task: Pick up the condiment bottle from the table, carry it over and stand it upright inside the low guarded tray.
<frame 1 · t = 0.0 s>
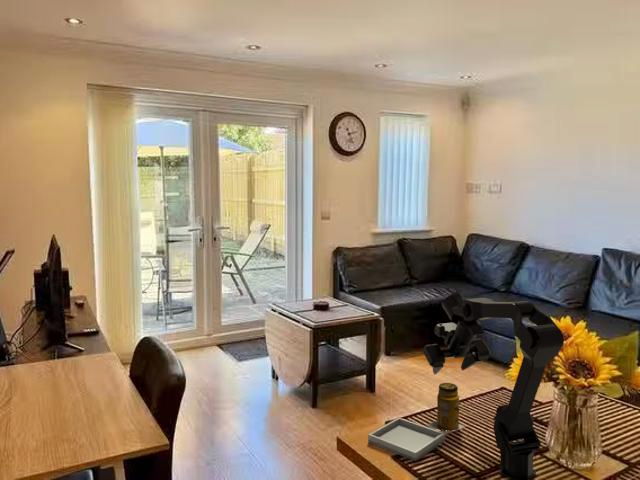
hand: (448, 371, 156), 15 cm above the table, tool tilted 35°, fingers open, 9 cm apart
condiment: (445, 427, 154), on the table
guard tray: (406, 441, 145), on the table
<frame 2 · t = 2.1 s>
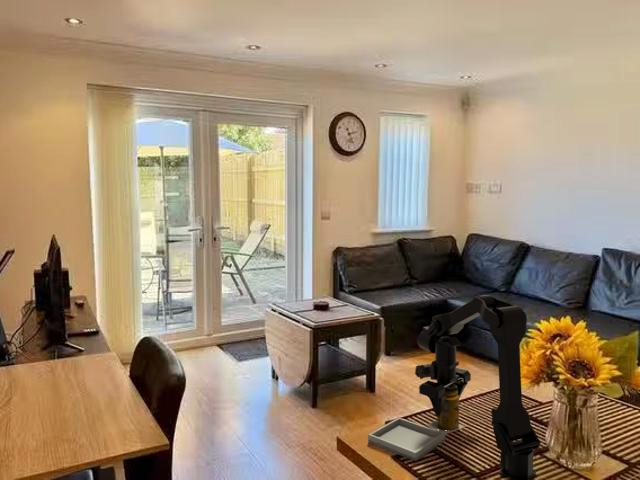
hand: (445, 411, 154), 5 cm above the table, tool pointing down, fingers open, 8 cm apart
condiment: (445, 427, 154), on the table, touching gripper
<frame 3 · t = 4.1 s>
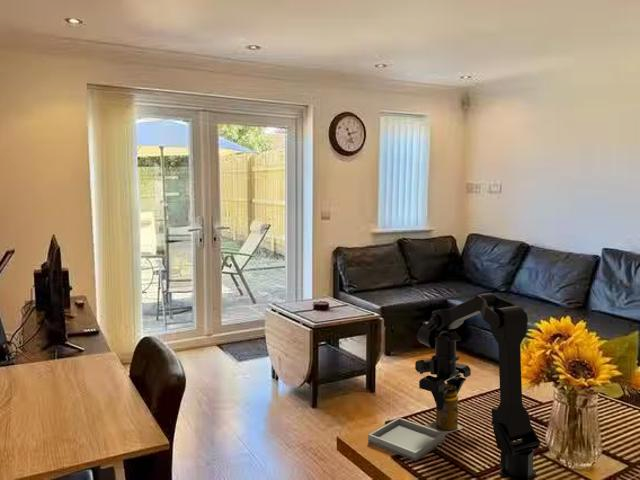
hand: (445, 406, 153), 6 cm above the table, tool pointing down, fingers closed on condiment, 6 cm apart
condiment: (444, 427, 153), on the table, touching gripper
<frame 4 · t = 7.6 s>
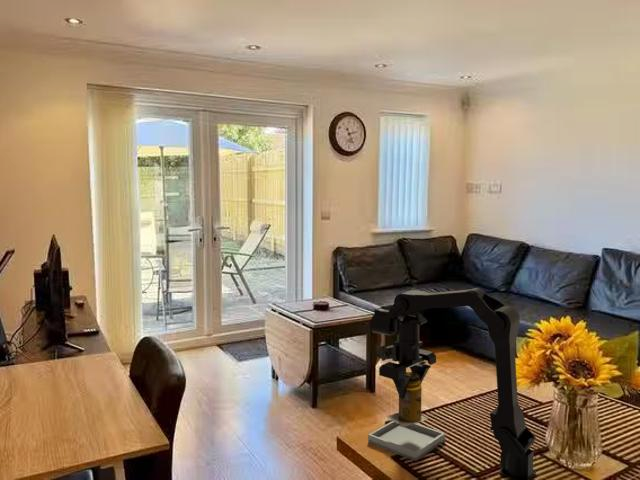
hand: (408, 394, 145), 13 cm above the table, tool pointing down, fingers closed on condiment, 6 cm apart
condiment: (407, 419, 145), point 6 cm above the table, touching gripper
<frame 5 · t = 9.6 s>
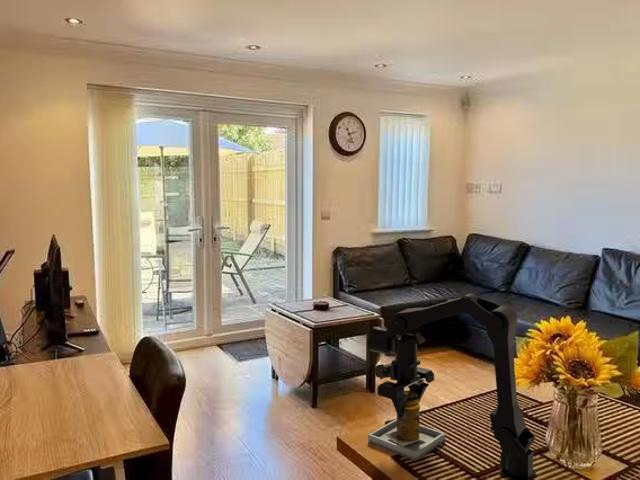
hand: (406, 413, 145), 8 cm above the table, tool pointing down, fingers closed on condiment, 6 cm apart
condiment: (405, 437, 145), point 1 cm above the table, touching gripper
when the fingers open (7 cm above the table, at t = 11.2 s): condiment stays where it is, resting on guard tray.
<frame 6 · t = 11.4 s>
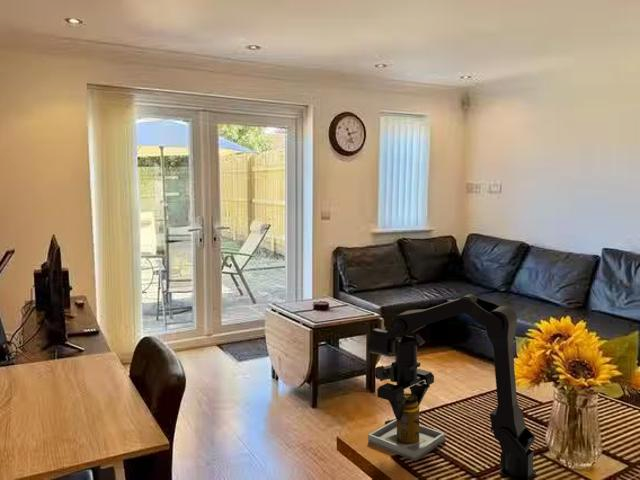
hand: (406, 415, 145), 7 cm above the table, tool pointing down, fingers open, 7 cm apart
condiment: (405, 440, 145), point 1 cm above the table, touching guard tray
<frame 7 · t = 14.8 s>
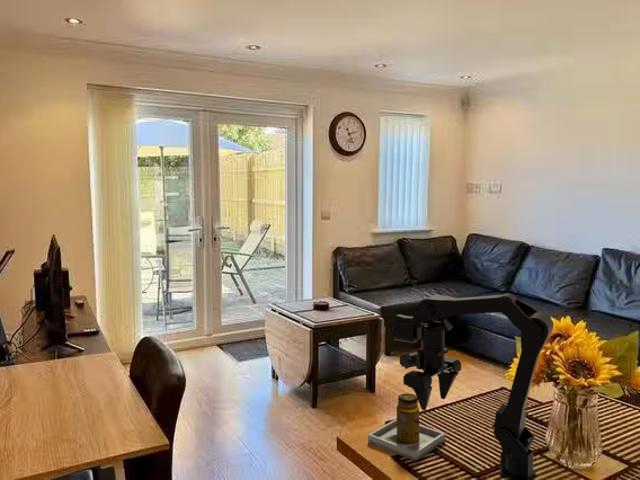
hand: (433, 404, 138), 13 cm above the table, tool pointing down, fingers open, 9 cm apart
nothing on the table moved.
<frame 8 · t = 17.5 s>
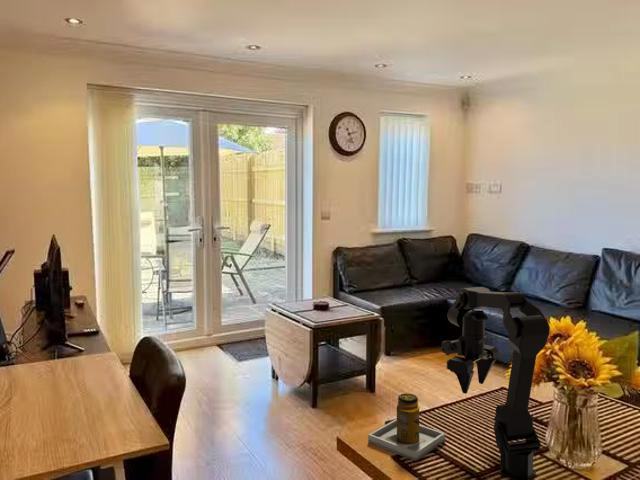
hand: (473, 388, 148), 13 cm above the table, tool pointing down, fingers open, 9 cm apart
nothing on the table moved.
at the end: condiment inside the target area on the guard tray (0.7 cm from its centre), point 0.6 cm above the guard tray's base; condiment tilted 0°; the gripper is holding nothing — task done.
